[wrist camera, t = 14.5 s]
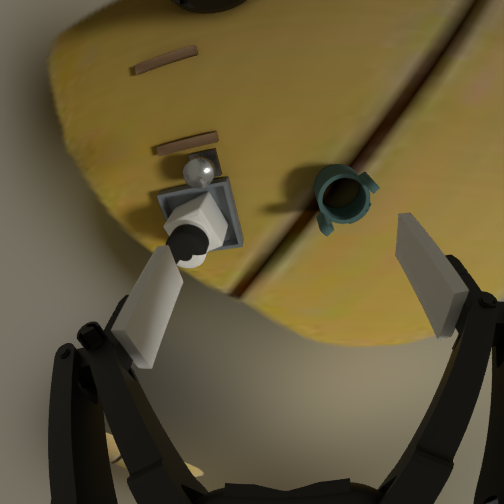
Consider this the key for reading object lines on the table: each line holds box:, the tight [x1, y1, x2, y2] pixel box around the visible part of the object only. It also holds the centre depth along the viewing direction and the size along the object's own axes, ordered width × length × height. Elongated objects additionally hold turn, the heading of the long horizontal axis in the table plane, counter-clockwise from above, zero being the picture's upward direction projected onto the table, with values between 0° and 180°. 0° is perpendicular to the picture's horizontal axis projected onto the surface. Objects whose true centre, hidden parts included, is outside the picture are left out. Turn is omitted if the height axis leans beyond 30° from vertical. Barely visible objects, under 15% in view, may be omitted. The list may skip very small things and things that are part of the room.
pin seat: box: [134, 45, 219, 156], centre depth 39 cm, size 16×10×2 cm, turn 11°
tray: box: [157, 177, 244, 251], centre depth 49 cm, size 12×12×2 cm
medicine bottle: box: [163, 192, 228, 268], centre depth 45 cm, size 7×7×12 cm
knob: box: [183, 148, 222, 189], centre depth 43 cm, size 5×5×6 cm
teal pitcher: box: [314, 164, 380, 236], centre depth 42 cm, size 9×9×9 cm
